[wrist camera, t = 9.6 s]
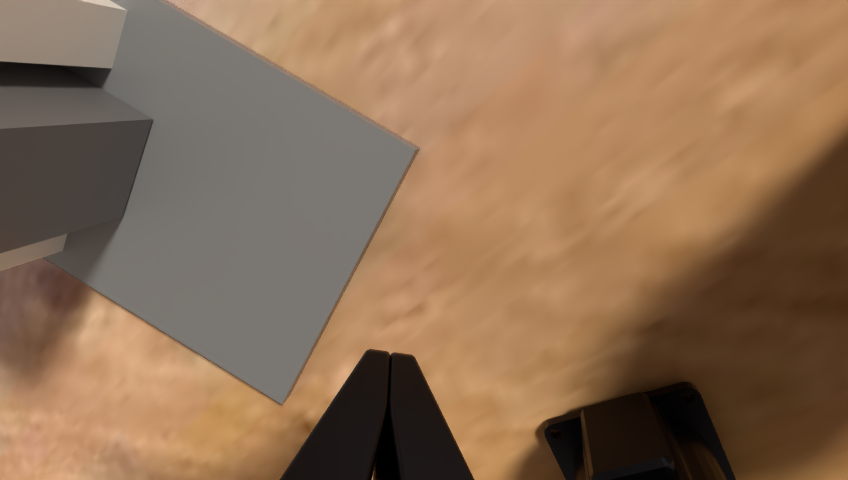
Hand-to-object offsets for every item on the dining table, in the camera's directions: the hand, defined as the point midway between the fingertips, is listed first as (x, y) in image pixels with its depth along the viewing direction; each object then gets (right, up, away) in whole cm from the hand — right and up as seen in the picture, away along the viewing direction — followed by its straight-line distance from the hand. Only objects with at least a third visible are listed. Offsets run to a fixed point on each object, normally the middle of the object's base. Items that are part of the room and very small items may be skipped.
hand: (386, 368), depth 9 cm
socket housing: (-11, +5, +14) cm, 18 cm away
